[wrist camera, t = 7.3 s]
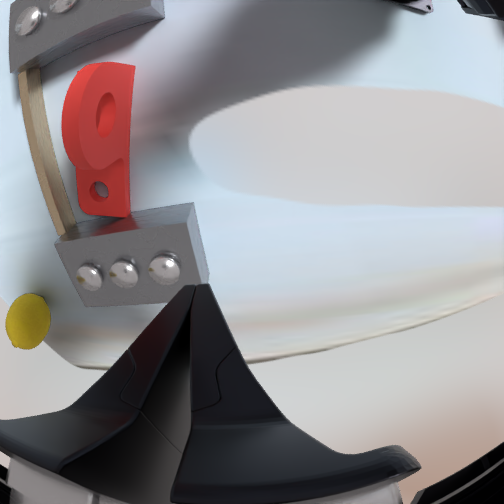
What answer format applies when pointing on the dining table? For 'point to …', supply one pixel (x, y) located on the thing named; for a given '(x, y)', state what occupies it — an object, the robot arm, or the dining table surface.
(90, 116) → the bracket
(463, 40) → the dining table surface
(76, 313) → the dining table surface
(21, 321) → the lemon
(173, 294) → the grey piece
